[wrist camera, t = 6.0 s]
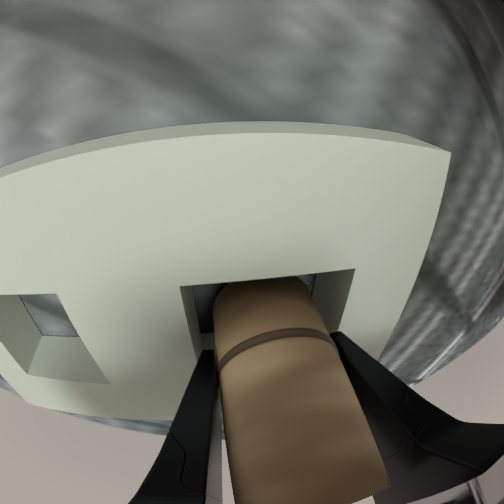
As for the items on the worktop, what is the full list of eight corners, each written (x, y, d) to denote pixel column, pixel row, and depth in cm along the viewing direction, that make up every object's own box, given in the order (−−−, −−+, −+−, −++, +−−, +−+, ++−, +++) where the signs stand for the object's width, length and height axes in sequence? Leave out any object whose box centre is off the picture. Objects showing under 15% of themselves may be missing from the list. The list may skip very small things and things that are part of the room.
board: (400, 133, 9) (451, 152, 7) (343, 355, 17) (359, 391, 14) (-53, 192, 6) (-87, 220, 4) (39, 371, 14) (29, 404, 11)
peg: (317, 263, 10) (422, 470, 3) (304, 335, 12) (362, 495, 6) (206, 274, 10) (231, 528, 3) (216, 346, 12) (240, 524, 5)
